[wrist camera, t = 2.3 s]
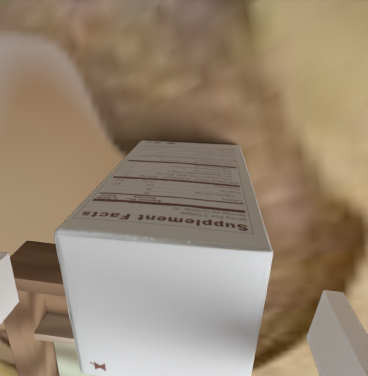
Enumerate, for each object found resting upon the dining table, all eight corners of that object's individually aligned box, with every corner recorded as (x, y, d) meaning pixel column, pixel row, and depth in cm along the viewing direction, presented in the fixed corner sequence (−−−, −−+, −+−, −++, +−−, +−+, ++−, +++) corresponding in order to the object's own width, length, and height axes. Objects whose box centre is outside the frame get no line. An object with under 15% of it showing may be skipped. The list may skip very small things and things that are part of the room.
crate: (27, 240, 25) (-9, 275, 21) (251, 268, 24) (259, 310, 20) (55, 389, 35) (34, 434, 31) (219, 415, 33) (220, 464, 29)
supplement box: (232, 231, 23) (249, 401, 12) (142, 223, 24) (73, 378, 12) (243, 142, 20) (281, 253, 8) (139, 135, 20) (43, 232, 9)
